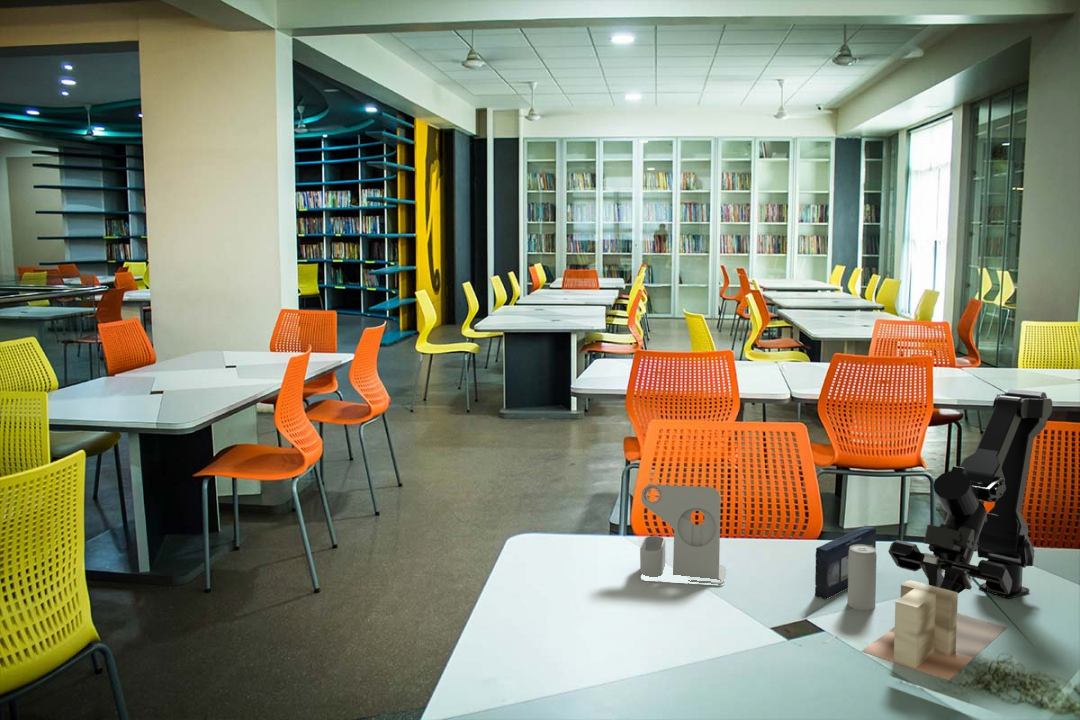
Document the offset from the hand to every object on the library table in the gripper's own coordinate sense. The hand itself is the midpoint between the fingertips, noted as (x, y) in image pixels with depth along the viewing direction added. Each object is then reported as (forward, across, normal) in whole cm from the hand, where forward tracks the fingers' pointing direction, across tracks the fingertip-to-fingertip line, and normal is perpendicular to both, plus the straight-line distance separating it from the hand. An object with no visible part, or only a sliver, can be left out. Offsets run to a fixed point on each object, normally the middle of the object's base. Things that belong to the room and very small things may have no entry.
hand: (932, 610), depth 145 cm
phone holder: (+6, -51, +4) cm, 51 cm away
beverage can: (0, -16, +10) cm, 18 cm away
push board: (+4, 0, +6) cm, 7 cm away
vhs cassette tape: (-6, -23, +16) cm, 29 cm away
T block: (+8, 0, 0) cm, 8 cm away
